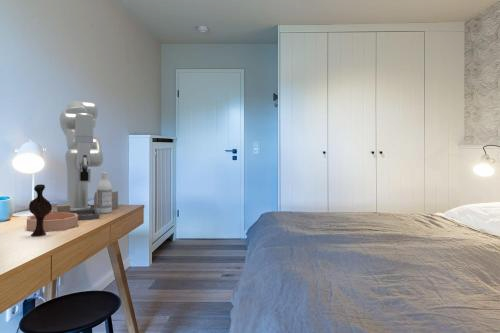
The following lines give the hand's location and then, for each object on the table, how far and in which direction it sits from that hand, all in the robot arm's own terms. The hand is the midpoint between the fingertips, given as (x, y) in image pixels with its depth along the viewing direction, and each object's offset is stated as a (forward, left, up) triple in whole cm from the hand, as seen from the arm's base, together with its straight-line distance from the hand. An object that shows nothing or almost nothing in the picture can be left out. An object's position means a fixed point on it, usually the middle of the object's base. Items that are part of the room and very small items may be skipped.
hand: (83, 179), depth 148 cm
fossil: (-17, +12, -17) cm, 27 cm away
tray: (0, -4, -17) cm, 18 cm away
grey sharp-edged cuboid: (0, 0, -1) cm, 1 cm away
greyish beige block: (0, -8, -17) cm, 19 cm away
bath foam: (-9, +10, -17) cm, 22 cm away
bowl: (+16, -12, -17) cm, 26 cm away
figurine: (+29, -16, -17) cm, 37 cm away
